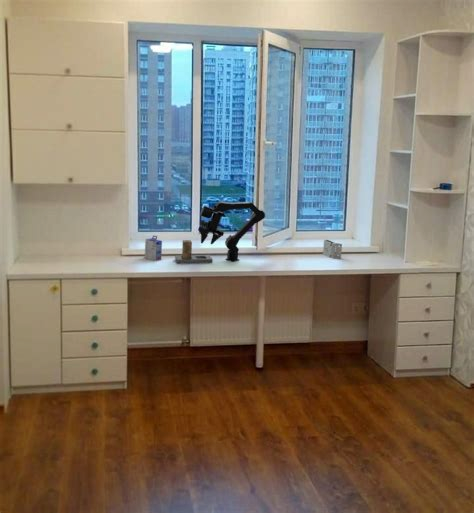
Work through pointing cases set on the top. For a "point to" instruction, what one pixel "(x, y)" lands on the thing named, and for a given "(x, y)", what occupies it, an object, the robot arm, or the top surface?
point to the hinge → (332, 249)
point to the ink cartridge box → (153, 248)
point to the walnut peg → (186, 249)
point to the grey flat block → (194, 259)
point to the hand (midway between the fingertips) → (206, 243)
